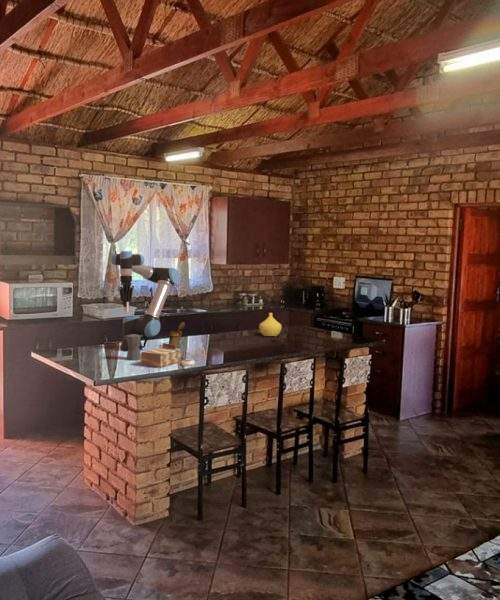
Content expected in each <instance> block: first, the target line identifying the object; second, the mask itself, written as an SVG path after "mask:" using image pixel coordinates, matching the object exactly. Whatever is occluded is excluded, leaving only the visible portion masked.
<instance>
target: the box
mask: <svg viewBox="0 0 500 600" xmlns="http://www.w3.org/2000/svg"><path fill="white" fill-rule="evenodd" d="M140 355H141V359H140V366H142V365H146V366H145V367H150V366H153V367H152V368H157V367H160V368H159V369H163V368H166V367H169V365H170V366H172V365H175V364H179V363H181V350H180V351H177V352H173V353H169V354H166V355H162V356H161V354H155V353H147V352H144V351H141V353H140ZM165 366H166V367H165ZM162 367H163V368H162Z"/></svg>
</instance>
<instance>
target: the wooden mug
mask: <svg viewBox="0 0 500 600" xmlns="http://www.w3.org/2000/svg"><path fill="white" fill-rule="evenodd" d="M185 326H186V323H185V321H182V322H180V323H179V325H178V327H177V330H176V331H175V330H172V331H170V332H169V335H168V337H169V339H168V344H175V345H176V349H180V348H181V343H180V340H181V338H182V334H183V333H182V330H183V329H184V328H185Z"/></svg>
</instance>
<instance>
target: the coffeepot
mask: <svg viewBox="0 0 500 600" xmlns="http://www.w3.org/2000/svg"><path fill="white" fill-rule="evenodd" d="M124 338H125V339H126V341H127V343H128V346H129V349H128V351H127V353H126V360H127V361H132V360H134V361H139V360H140V361H141V350H140V349H139V346H140V341H141V339H144V342H143V343H142V346H141V347H142V348H144V349H145V348H146V346H147V345H146V344H147V342H148V339H149V337H148V336H146V335H137V334H135V331H133V334H131V335H126V336H124ZM141 342H142V341H141Z"/></svg>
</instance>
